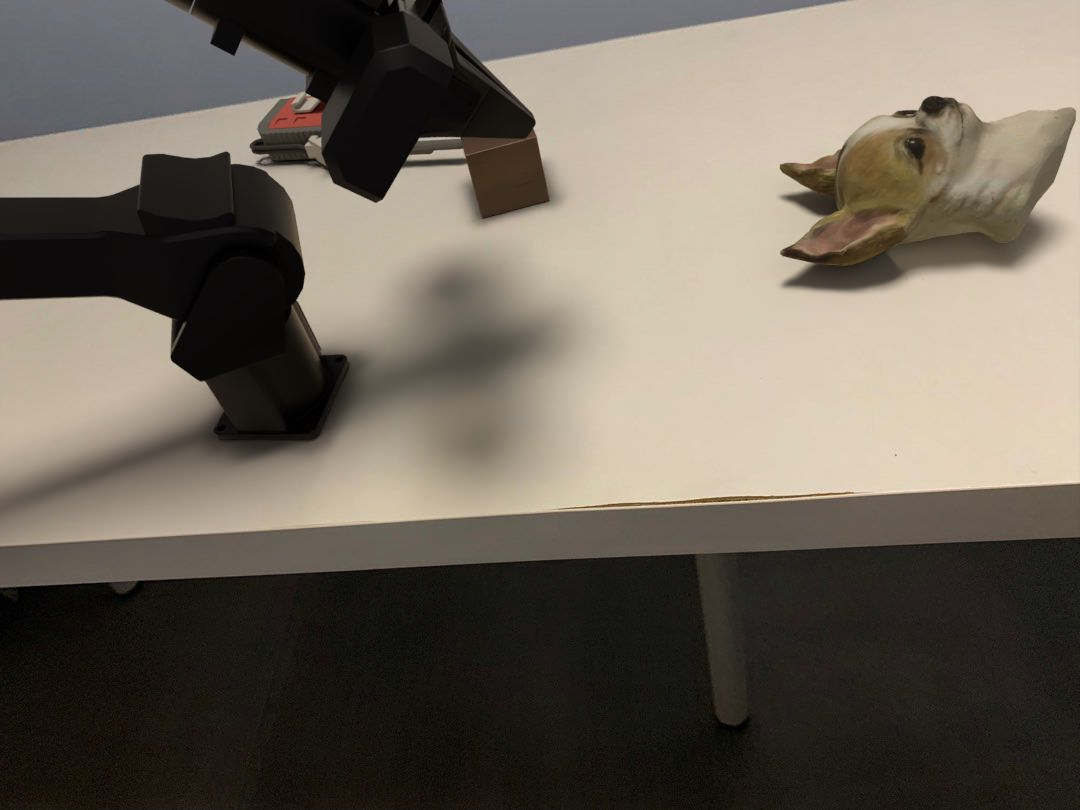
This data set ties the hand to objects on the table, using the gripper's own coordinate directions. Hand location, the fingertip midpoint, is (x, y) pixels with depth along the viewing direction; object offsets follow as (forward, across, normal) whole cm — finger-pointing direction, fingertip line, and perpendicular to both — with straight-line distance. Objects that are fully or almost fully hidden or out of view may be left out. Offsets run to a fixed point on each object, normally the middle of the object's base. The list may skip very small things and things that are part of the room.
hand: (530, 127), depth 42 cm
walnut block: (+8, +16, +10) cm, 20 cm away
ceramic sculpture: (+24, 0, -6) cm, 24 cm away
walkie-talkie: (+1, +29, +17) cm, 34 cm away
